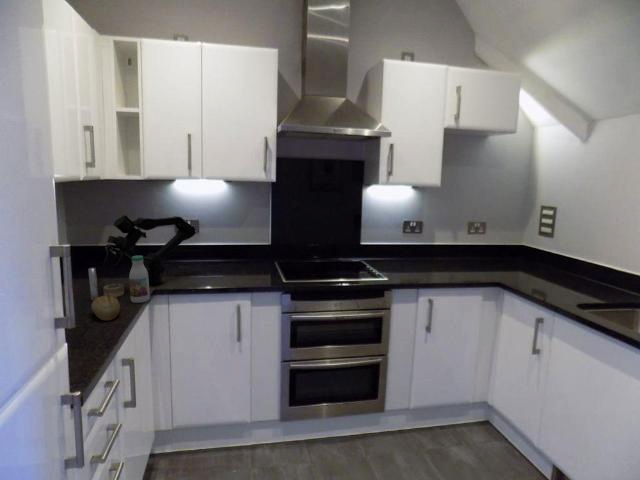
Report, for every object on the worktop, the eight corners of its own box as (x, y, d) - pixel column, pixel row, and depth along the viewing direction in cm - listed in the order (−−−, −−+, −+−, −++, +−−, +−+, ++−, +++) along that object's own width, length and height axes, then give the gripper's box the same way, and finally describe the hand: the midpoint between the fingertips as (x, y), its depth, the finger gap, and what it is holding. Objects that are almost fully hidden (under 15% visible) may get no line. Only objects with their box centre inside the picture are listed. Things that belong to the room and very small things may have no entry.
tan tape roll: (115, 291, 191) (114, 282, 190) (127, 293, 188) (127, 285, 187) (100, 296, 183) (99, 287, 183) (113, 298, 180) (112, 289, 180)
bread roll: (113, 308, 169) (112, 289, 168) (125, 318, 158) (123, 298, 157) (88, 313, 163) (86, 294, 161) (98, 324, 152) (96, 304, 150)
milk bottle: (134, 297, 182) (131, 254, 178) (152, 297, 183) (149, 254, 179) (128, 303, 174) (124, 258, 171) (146, 303, 175) (143, 258, 171)
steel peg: (95, 297, 181) (92, 267, 178) (99, 298, 180) (97, 268, 177) (89, 299, 179) (86, 268, 176) (94, 300, 177) (91, 269, 175)
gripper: (107, 227, 189) (84, 253, 182) (129, 231, 179) (106, 259, 172) (124, 241, 197) (103, 267, 190) (147, 246, 187) (125, 273, 180)
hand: (109, 266), depth 183 cm, fingers open, 9 cm apart
